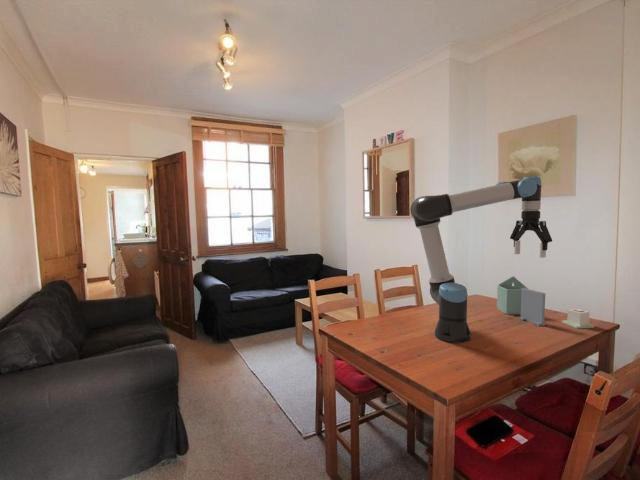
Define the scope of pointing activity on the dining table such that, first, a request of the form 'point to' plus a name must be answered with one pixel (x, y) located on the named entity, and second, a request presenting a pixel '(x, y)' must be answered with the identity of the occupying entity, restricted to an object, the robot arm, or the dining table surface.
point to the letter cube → (578, 317)
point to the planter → (509, 296)
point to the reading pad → (578, 325)
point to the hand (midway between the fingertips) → (529, 255)
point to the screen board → (532, 306)
